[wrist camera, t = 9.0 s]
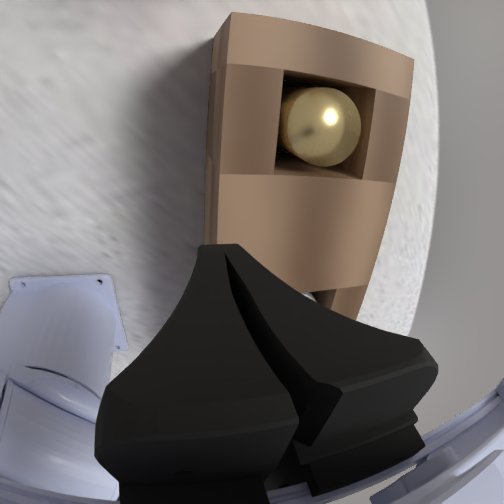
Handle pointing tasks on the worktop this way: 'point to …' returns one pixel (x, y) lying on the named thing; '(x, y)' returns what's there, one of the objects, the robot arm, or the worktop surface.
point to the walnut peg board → (294, 168)
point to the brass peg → (318, 125)
